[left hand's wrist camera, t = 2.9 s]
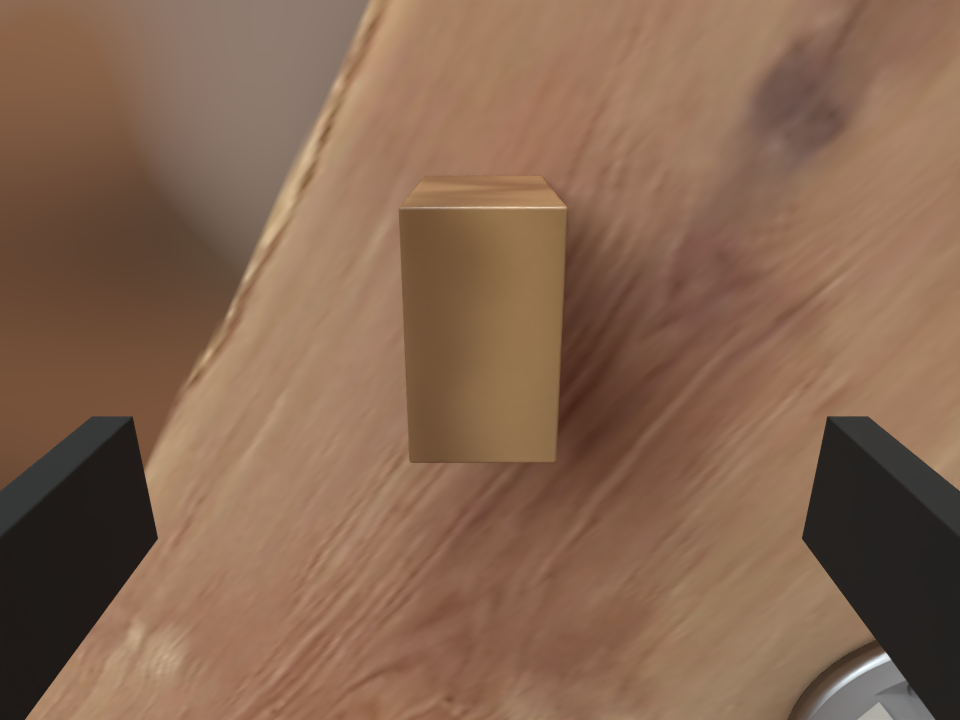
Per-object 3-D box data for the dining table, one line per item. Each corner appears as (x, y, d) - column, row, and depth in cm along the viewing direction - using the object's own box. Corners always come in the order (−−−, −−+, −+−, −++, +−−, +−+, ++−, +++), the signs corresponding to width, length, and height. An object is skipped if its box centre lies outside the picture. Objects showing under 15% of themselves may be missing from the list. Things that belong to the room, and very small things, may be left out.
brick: (541, 175, 28) (568, 206, 19) (536, 364, 31) (556, 463, 22) (423, 175, 28) (398, 206, 19) (429, 364, 31) (409, 463, 22)
